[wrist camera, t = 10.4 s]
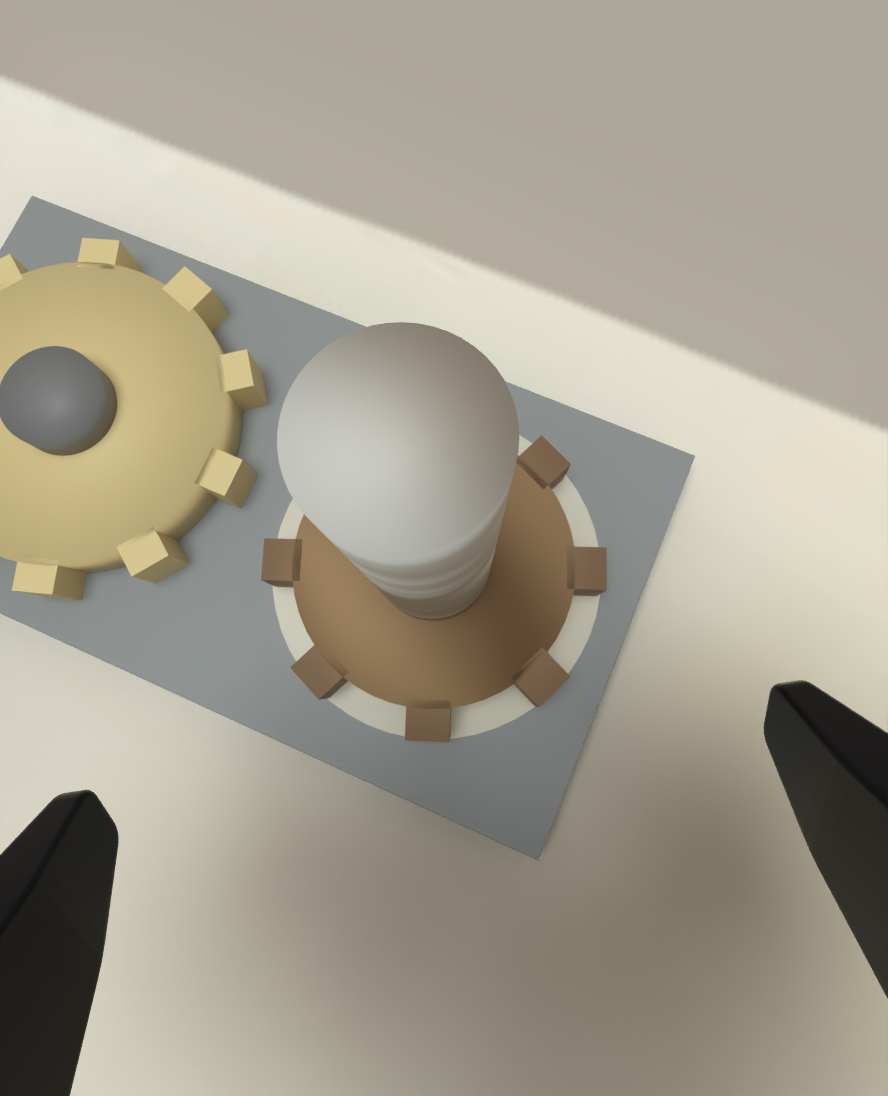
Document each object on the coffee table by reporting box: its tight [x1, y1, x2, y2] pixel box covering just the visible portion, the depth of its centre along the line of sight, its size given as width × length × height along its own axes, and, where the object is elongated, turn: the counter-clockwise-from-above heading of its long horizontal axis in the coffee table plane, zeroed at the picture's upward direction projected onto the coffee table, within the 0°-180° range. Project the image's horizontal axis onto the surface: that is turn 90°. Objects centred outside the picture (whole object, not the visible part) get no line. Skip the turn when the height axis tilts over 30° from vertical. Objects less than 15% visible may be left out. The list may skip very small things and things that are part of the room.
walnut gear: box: [261, 322, 607, 742], centre depth 16 cm, size 10×10×12 cm
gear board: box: [0, 196, 695, 860], centre depth 22 cm, size 24×13×4 cm, turn 67°
